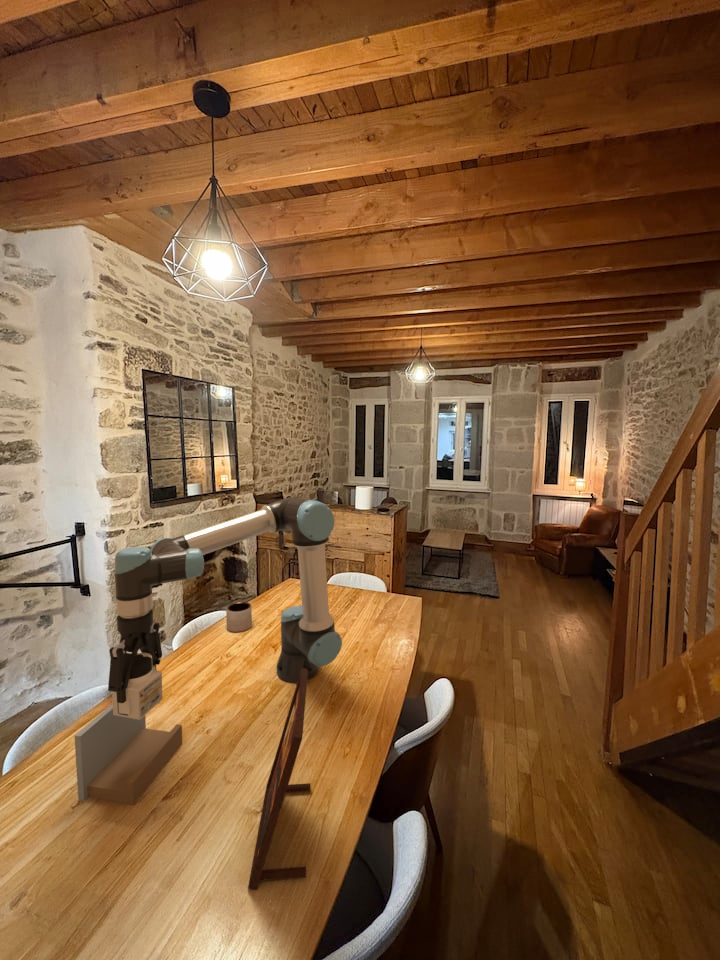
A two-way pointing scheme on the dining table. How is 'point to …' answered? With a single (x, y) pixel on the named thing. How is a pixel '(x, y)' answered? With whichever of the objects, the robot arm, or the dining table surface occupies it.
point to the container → (142, 688)
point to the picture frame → (281, 788)
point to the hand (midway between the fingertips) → (138, 700)
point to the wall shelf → (121, 757)
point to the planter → (239, 616)
